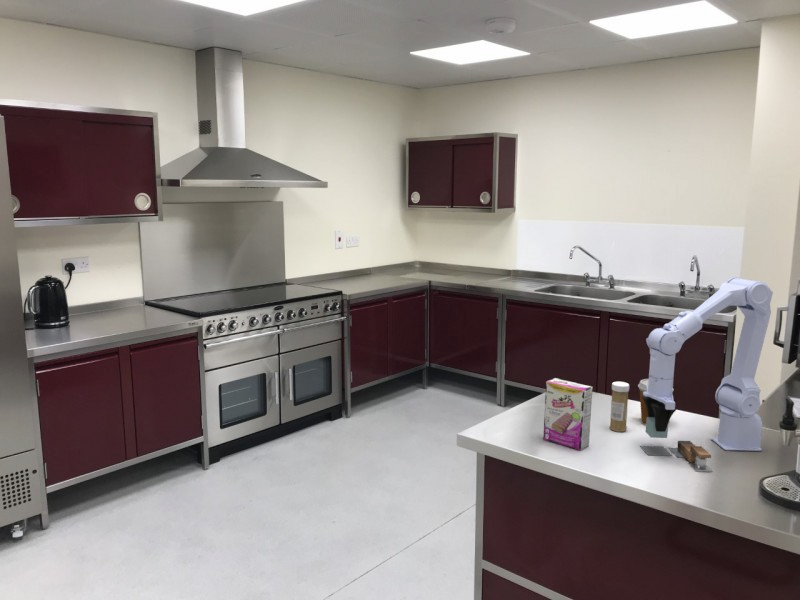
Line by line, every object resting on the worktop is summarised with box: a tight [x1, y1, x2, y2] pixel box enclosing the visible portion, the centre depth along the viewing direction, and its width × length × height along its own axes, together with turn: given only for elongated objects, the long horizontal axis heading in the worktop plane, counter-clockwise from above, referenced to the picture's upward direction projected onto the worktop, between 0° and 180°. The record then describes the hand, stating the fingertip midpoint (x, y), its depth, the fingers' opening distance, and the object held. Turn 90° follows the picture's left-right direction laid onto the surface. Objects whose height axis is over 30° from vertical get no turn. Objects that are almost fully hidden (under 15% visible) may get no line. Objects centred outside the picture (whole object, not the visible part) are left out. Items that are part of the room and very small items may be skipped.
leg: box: [676, 440, 712, 463], centre depth 153 cm, size 12×3×4 cm, turn 178°
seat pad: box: [639, 445, 673, 457], centre depth 159 cm, size 6×6×1 cm
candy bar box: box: [542, 377, 593, 452], centre depth 163 cm, size 11×5×16 cm, turn 47°
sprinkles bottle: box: [609, 381, 630, 433], centre depth 173 cm, size 5×5×13 cm
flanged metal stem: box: [688, 455, 714, 473], centre depth 149 cm, size 4×4×3 cm
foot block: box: [645, 417, 669, 439], centre depth 159 cm, size 4×4×4 cm
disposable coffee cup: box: [637, 378, 675, 425], centre depth 179 cm, size 10×10×12 cm
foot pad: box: [668, 447, 686, 459], centre depth 158 cm, size 6×6×1 cm
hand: (657, 427), depth 159 cm, fingers closed on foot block, 4 cm apart
